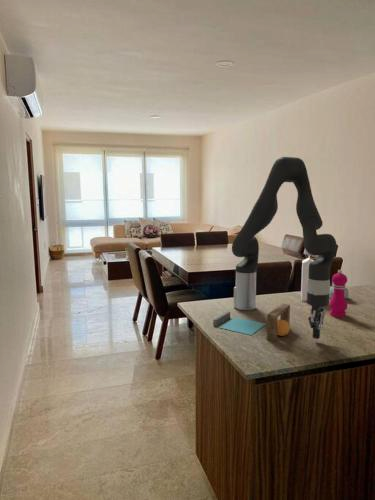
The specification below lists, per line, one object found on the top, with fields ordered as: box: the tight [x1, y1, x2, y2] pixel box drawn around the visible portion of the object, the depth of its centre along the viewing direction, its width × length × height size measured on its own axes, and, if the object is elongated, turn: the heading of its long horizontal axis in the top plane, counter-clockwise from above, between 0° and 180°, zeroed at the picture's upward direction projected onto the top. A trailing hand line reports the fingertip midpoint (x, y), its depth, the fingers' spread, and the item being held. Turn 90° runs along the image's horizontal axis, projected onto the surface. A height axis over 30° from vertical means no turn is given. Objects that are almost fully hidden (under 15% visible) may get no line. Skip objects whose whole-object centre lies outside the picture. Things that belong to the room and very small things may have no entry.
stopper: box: [212, 311, 231, 327], centre depth 155 cm, size 1×12×2 cm, turn 145°
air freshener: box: [329, 280, 350, 299], centre depth 185 cm, size 11×8×10 cm
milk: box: [300, 255, 315, 302], centre depth 183 cm, size 6×6×22 cm
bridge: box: [266, 303, 291, 342], centre depth 141 cm, size 3×15×10 cm, turn 145°
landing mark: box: [219, 317, 267, 336], centre depth 150 cm, size 14×14×1 cm
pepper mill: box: [328, 269, 348, 318], centre depth 160 cm, size 7×7×20 cm
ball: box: [277, 319, 291, 337], centre depth 140 cm, size 6×6×6 cm
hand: (316, 337), depth 133 cm, fingers closed
